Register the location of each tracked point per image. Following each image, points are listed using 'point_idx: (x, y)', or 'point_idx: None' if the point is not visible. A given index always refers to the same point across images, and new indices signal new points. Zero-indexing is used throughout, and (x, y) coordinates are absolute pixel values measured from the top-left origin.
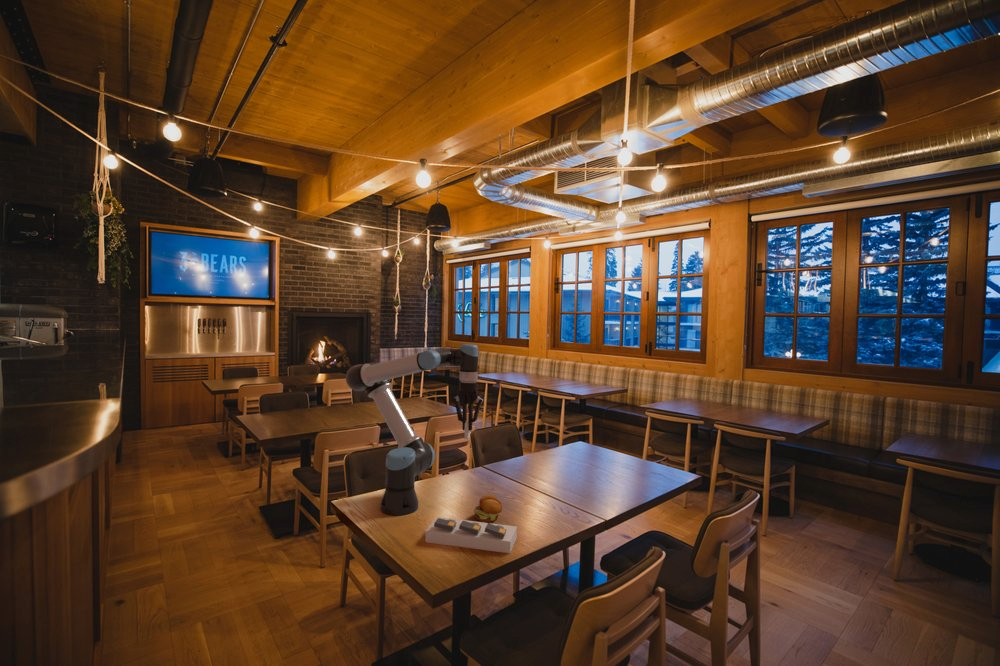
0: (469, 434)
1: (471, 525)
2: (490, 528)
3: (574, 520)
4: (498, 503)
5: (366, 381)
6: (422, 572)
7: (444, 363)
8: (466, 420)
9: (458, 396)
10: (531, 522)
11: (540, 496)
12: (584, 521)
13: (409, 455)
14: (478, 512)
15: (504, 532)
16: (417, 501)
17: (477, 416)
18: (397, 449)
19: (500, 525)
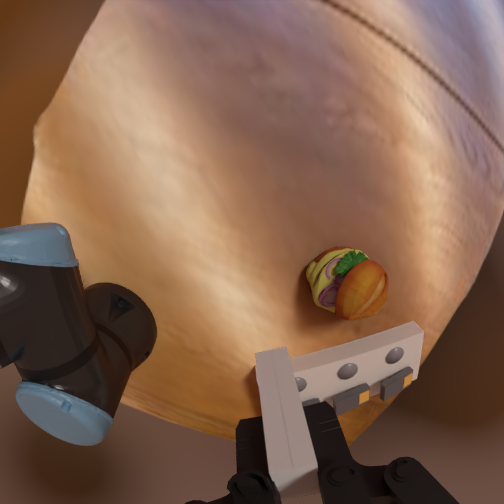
0: (292, 371)
1: (354, 400)
2: (391, 394)
3: (487, 194)
4: (385, 294)
5: None
6: None
7: None
8: (274, 493)
9: None
10: (429, 244)
11: (406, 74)
12: (498, 191)
13: (96, 436)
14: (331, 311)
15: (411, 380)
16: (144, 319)
17: (443, 495)
18: (27, 408)
19: (396, 345)
